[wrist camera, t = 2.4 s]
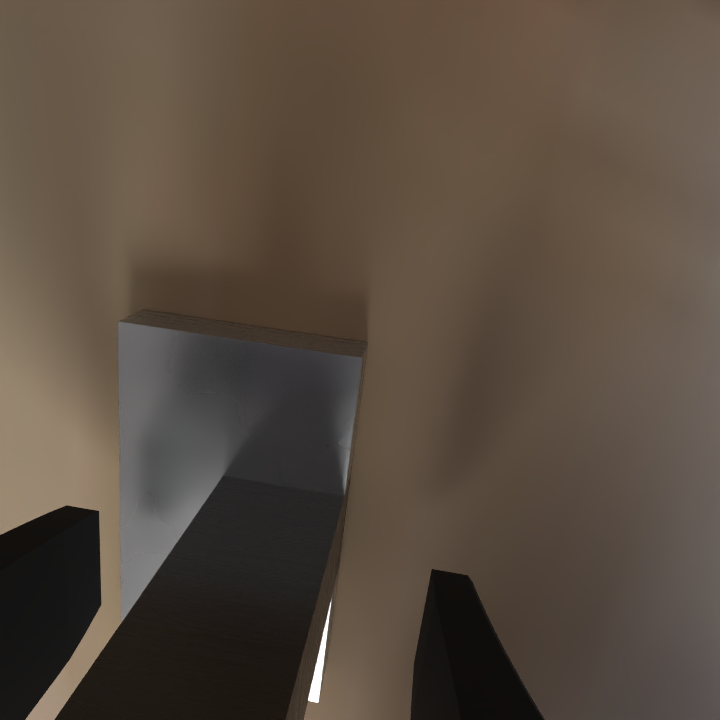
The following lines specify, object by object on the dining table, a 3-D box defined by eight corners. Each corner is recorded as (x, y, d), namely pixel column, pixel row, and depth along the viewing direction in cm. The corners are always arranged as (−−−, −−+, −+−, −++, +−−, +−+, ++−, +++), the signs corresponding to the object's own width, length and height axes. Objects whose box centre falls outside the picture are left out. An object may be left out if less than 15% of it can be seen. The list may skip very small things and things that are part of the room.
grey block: (367, 342, 11) (278, 584, 5) (326, 666, 14) (228, 1128, 7) (143, 309, 11) (-247, 489, 5) (142, 631, 14) (-117, 1042, 7)
